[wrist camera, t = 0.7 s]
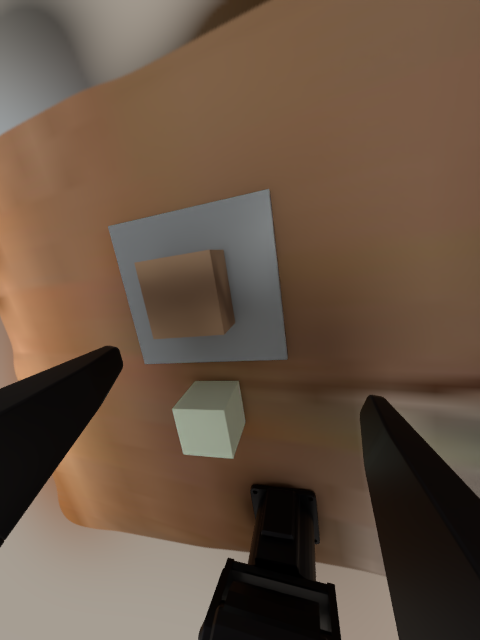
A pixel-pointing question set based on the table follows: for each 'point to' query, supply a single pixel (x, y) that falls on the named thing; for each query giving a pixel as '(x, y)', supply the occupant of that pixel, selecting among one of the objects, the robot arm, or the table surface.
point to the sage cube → (210, 419)
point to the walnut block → (187, 294)
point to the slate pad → (242, 268)
